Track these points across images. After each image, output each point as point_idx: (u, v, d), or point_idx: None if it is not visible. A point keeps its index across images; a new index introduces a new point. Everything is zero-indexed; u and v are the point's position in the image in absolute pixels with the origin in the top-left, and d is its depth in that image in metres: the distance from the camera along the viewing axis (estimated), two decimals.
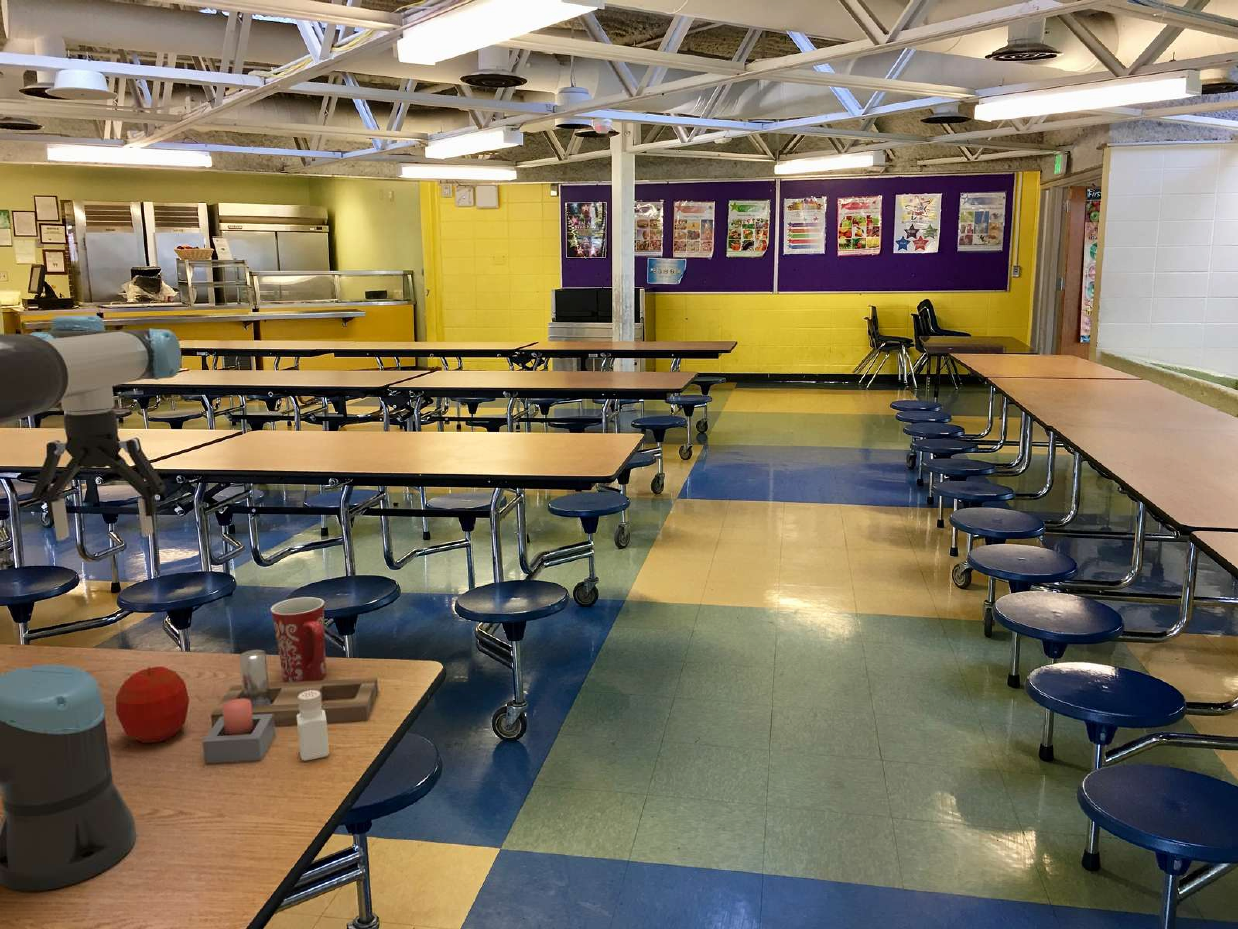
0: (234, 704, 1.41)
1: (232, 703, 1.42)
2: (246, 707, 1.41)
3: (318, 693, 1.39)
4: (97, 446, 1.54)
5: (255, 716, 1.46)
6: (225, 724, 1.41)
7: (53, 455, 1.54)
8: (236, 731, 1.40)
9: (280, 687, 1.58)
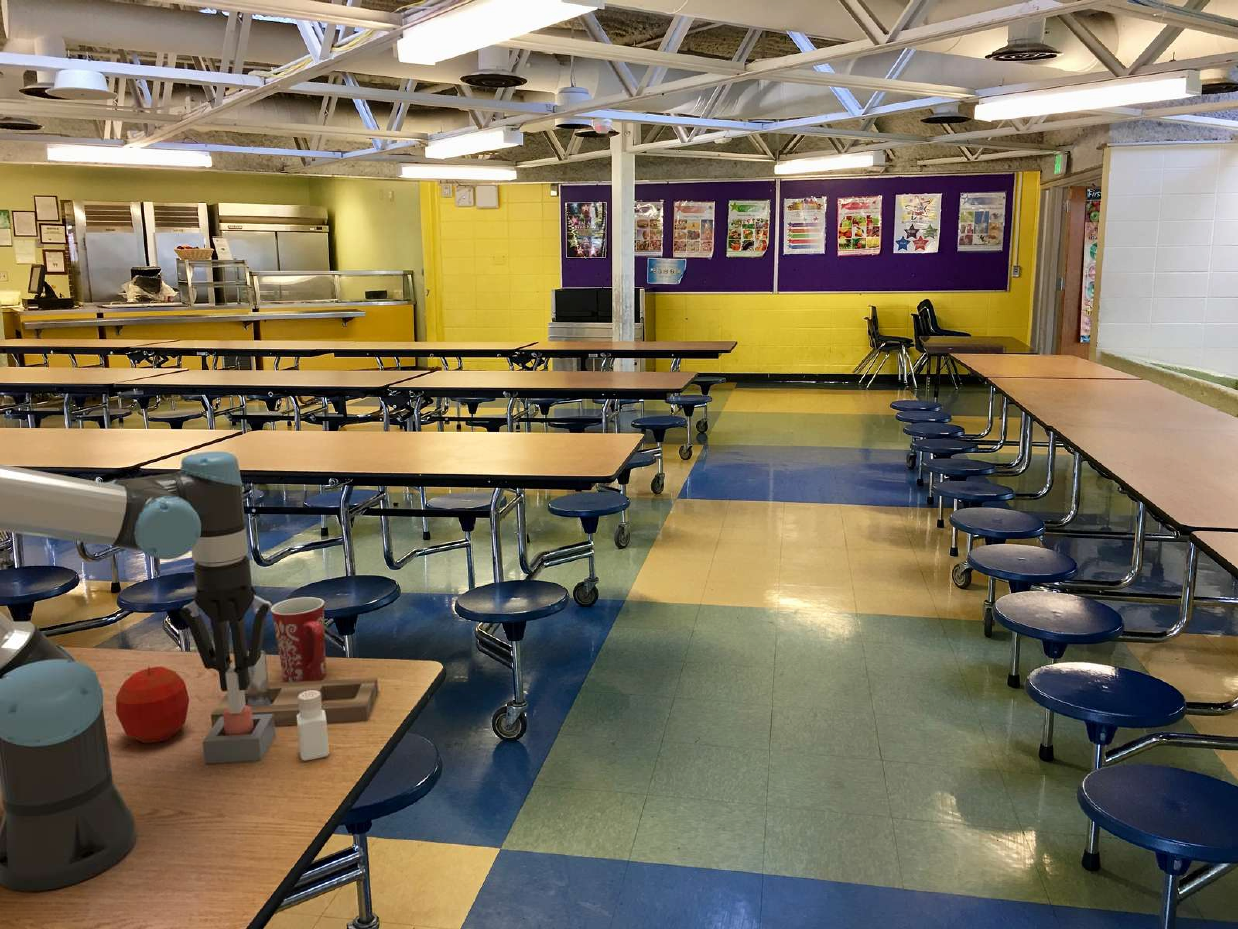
0: None
1: None
2: (247, 714, 1.41)
3: (318, 693, 1.39)
4: (234, 598, 1.37)
5: (255, 716, 1.46)
6: (226, 731, 1.41)
7: (192, 619, 1.37)
8: None
9: (280, 687, 1.58)
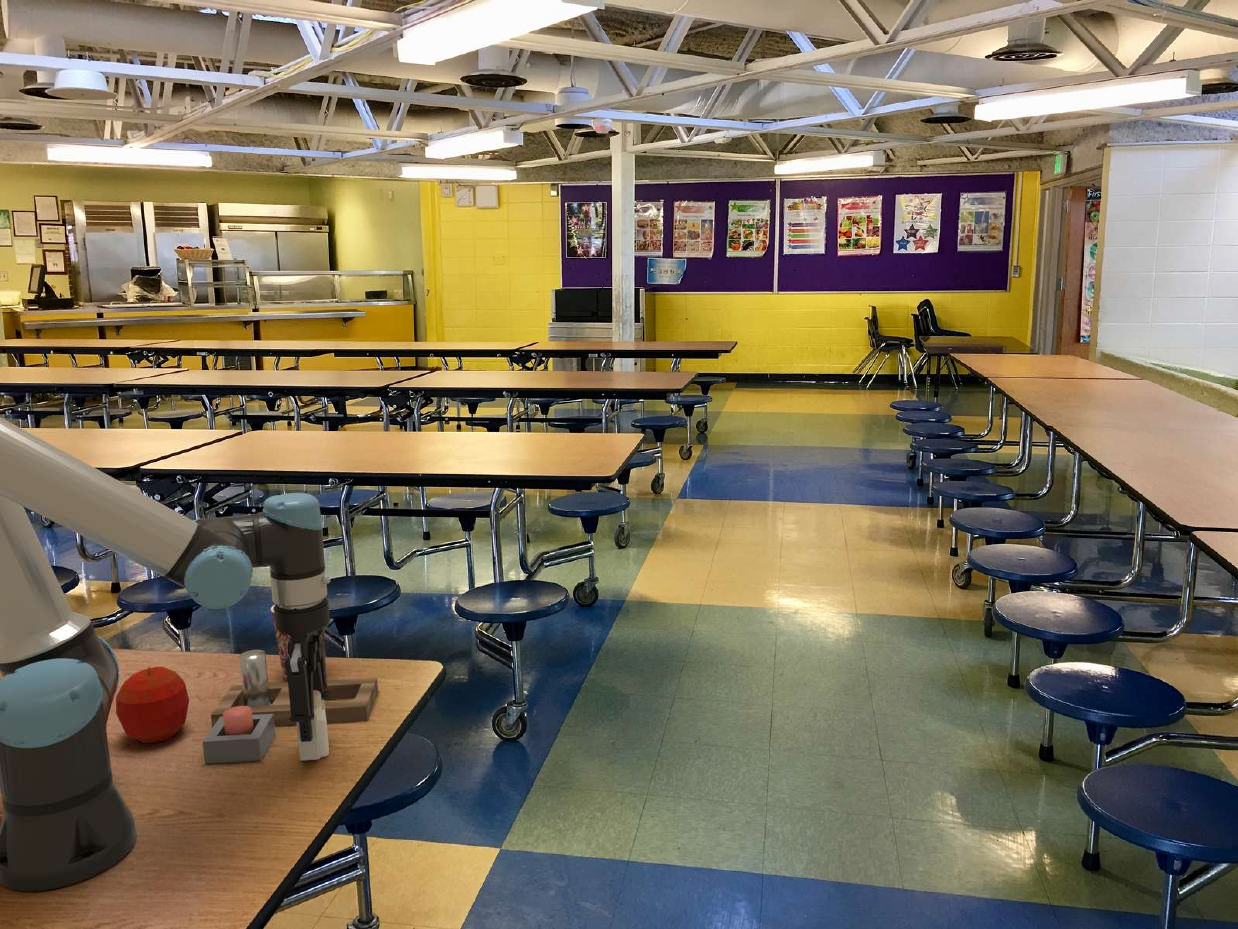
0: (235, 711, 1.42)
1: (233, 710, 1.42)
2: (247, 715, 1.41)
3: (318, 693, 1.39)
4: None
5: (255, 716, 1.46)
6: (226, 731, 1.41)
7: None
8: None
9: (280, 687, 1.58)
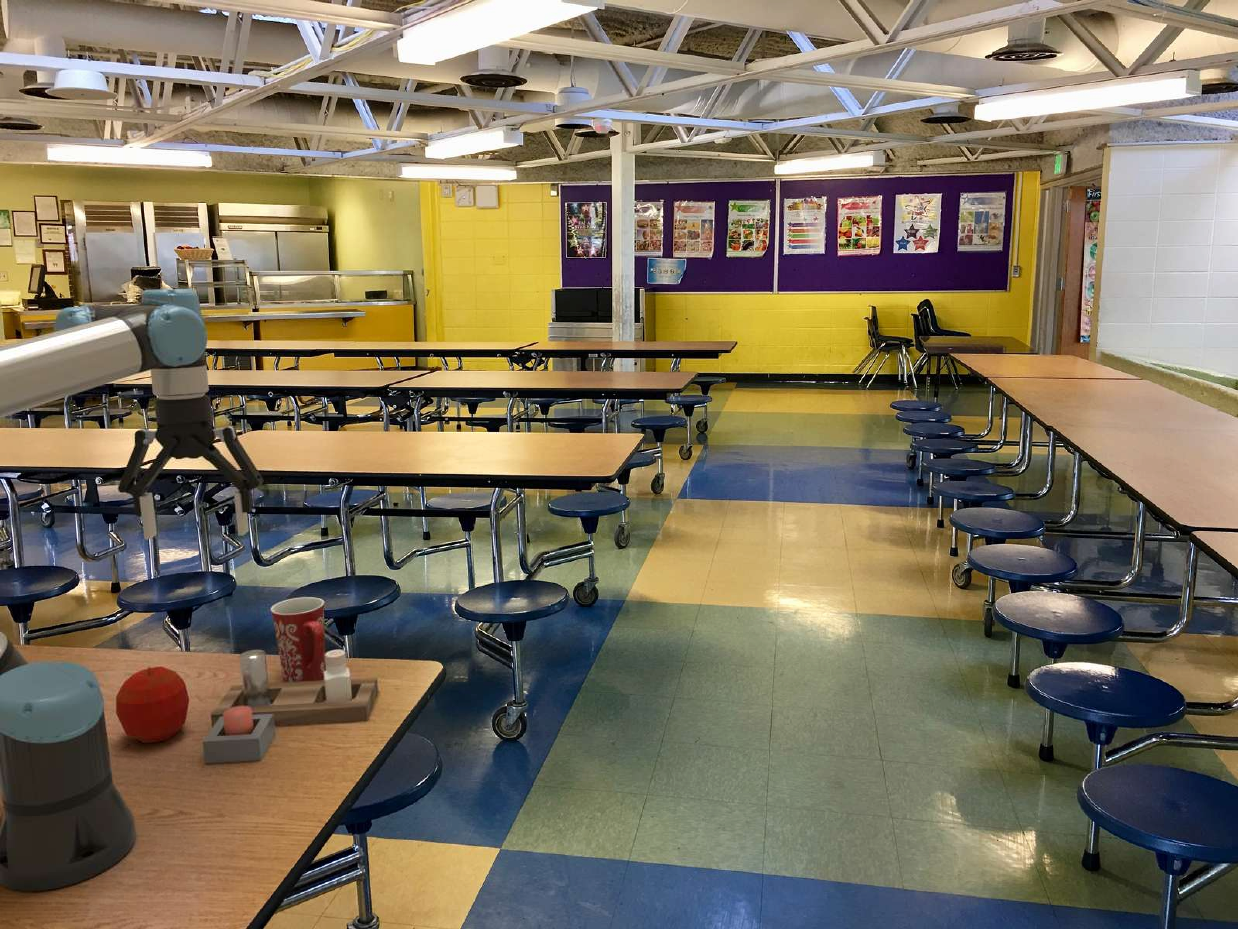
0: (235, 711, 1.42)
1: (233, 710, 1.42)
2: (247, 715, 1.41)
3: (336, 650, 1.55)
4: (190, 434, 1.39)
5: (255, 716, 1.46)
6: (226, 731, 1.41)
7: (142, 444, 1.39)
8: None
9: (280, 687, 1.58)
